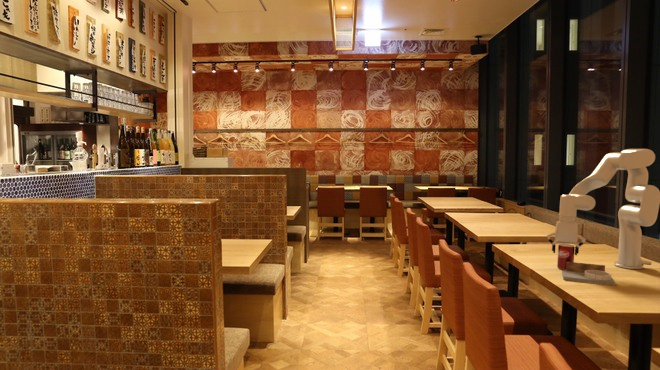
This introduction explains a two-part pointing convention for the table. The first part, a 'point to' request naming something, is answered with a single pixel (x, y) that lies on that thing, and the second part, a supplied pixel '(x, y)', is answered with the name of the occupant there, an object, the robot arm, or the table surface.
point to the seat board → (584, 279)
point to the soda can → (565, 255)
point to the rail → (583, 267)
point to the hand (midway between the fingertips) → (564, 253)
